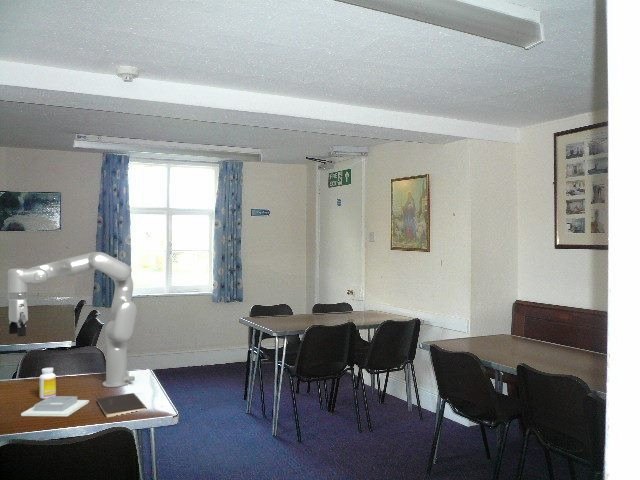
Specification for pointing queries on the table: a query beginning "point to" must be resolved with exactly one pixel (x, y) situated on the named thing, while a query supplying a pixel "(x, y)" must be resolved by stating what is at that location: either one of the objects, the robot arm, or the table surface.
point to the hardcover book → (120, 404)
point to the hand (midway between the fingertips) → (17, 334)
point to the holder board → (56, 406)
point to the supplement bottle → (47, 383)
